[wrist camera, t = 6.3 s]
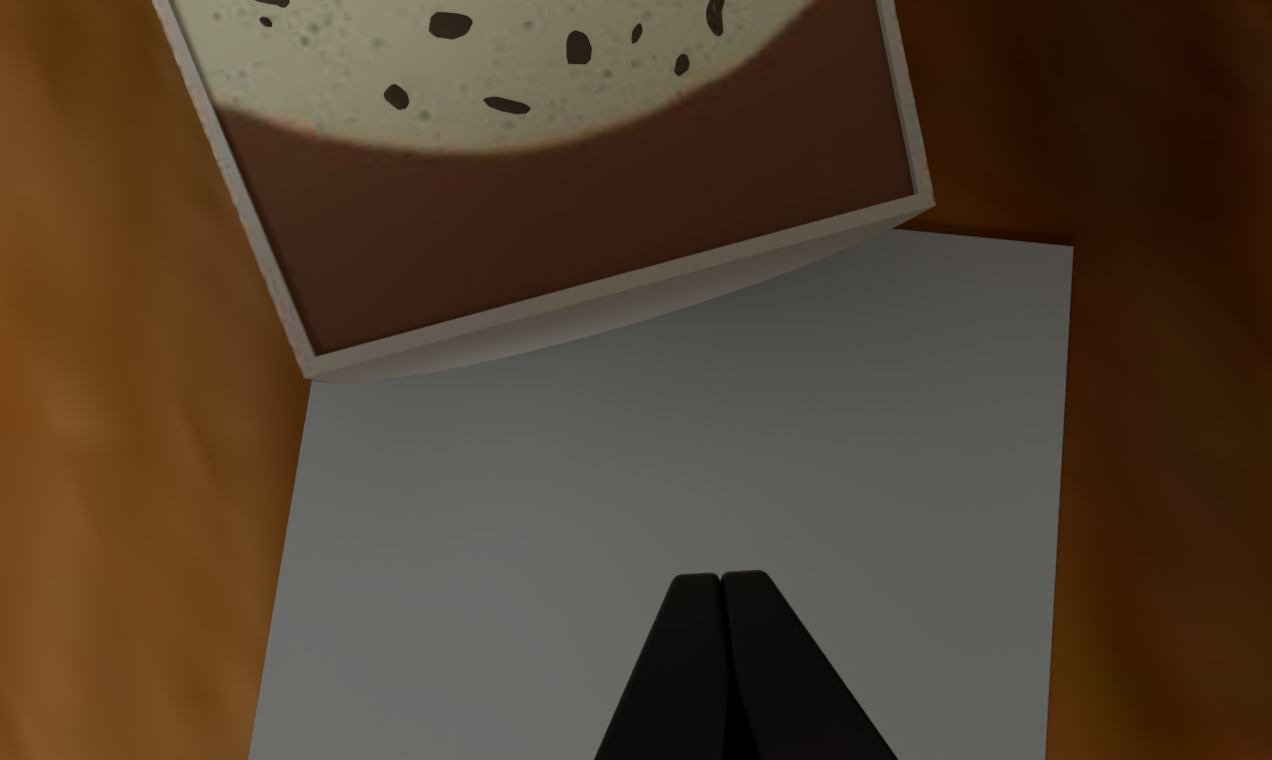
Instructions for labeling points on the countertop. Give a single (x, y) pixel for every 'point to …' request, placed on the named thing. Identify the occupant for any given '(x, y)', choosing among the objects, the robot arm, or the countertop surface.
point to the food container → (540, 160)
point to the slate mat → (692, 513)
